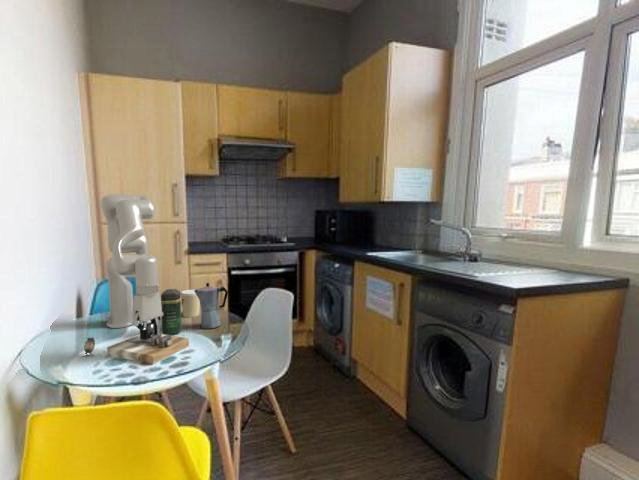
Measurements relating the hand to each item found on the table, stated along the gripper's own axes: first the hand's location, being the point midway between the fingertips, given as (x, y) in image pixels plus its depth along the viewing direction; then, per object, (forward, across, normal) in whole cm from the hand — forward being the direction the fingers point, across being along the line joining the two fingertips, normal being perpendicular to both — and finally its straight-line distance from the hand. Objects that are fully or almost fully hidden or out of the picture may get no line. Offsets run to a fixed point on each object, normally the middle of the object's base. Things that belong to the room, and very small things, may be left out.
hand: (149, 336), depth 138 cm
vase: (+6, +11, -18) cm, 22 cm away
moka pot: (+5, -32, +4) cm, 33 cm away
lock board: (+5, 0, 0) cm, 5 cm away
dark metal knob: (+2, 0, +3) cm, 4 cm away
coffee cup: (+6, -42, -16) cm, 45 cm away
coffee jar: (+6, -19, -7) cm, 21 cm away
